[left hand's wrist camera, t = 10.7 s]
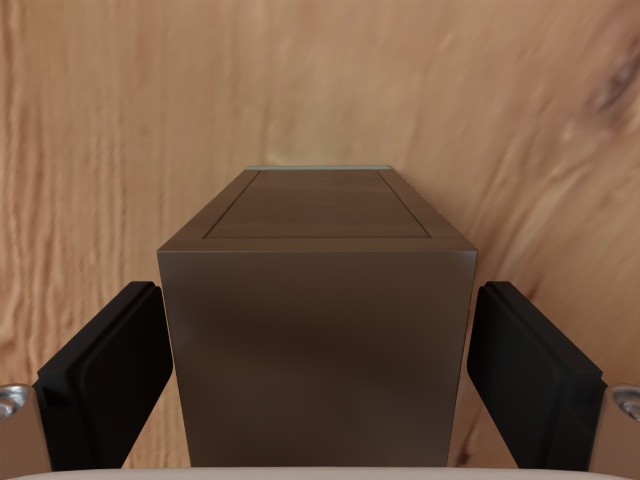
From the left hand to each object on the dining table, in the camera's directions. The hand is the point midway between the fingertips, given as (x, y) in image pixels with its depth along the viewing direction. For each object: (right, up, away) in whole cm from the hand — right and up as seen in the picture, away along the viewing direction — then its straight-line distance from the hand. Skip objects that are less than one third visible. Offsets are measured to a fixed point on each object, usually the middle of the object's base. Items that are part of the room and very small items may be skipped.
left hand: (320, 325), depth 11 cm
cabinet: (0, -2, +9) cm, 10 cm away
